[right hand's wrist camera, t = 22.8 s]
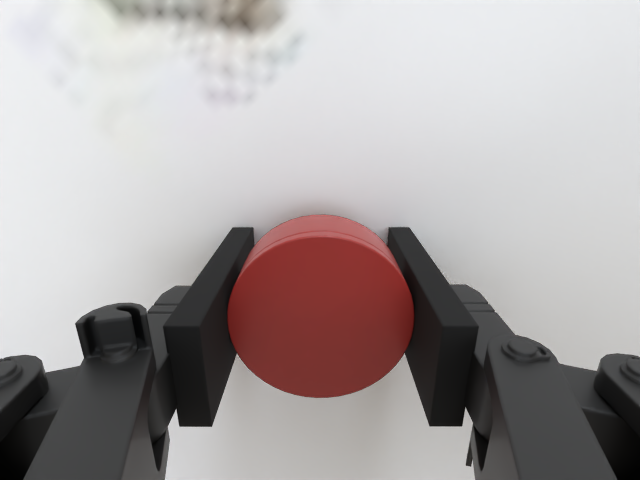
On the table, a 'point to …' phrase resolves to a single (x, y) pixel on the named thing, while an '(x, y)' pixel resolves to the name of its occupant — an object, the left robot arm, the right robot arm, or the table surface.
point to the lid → (320, 308)
